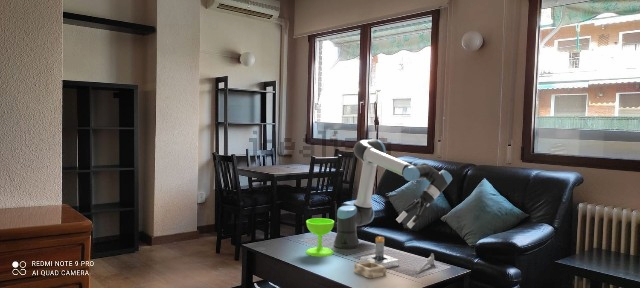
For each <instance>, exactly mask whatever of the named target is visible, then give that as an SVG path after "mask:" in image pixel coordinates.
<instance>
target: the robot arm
mask: <svg viewBox="0 0 640 288" xmlns="http://www.w3.org/2000/svg"><path fill="white" fill-rule="evenodd" d="M353 154H354V155H355V157H356V158H357V159H358V160H361V162H362V167H361V173H360V177H359V178H360V180H359V185H358V191H357V195H356V200H355V201H354V202H353V205H342V206H340V207H338V209H337V213H336V223H337V224H336V235H335V238H334V241H333V246H334V247H335V248H339V249H344V250H345V249H346V250H347V249H349V250H350V249H351V250H352V249H357V248H359V247H360V241H359V238H358V234H357V227H360V226H364V225H365V226H366V225H368V224H370V223H371V222H373V220H374V218H375V210H374V208H373V204H372V203H371V201H372V197H373V191H374V185H375V178H376V173H377V167H378V166H379V167H382V168H384V169H386V170H389V171H391V172H393V173H396V174H398V175H399V176H402V177H403V178H404V179H405V180H406V181H408V182H414V181H415V182H416V181H421V180H426V181H427V182H428V183H429V184H428V185H427V186H426V187H425V188H424V189H423V191H421V193H420V194H419V198H417V197H415V198H414V200H412V201H410V203H408V204H407V205H406V206H405V207H403V208H402V210H403V211H402V212H401V213H400V214H399V216H398V217H397V218H396V219H395V220H396V221H397V222H398V223H399V224H400V223H401V222H402V221H403V220H404V219H405V218H406V217H407V216H408V215H409V213H410V212H412V211H414V210H417V212H416V213H415V215H414V216H413V217H412V218H411V219H410V221H408V222H407V224H406V226H407V227H408V228H409V229H412V228H413V226H414V225H416V223H417V222H418V221H419V220H423V219H424V217H425V216H426V213H427V212H428V210H429V208H430V207H431V204H432V203H433V202H434V201H435V200H436V199H437V197H439V195H441V193H442V192H443V191H444V190H445V189H446V188H447V187H448V185H450V183H451V182H452V180H453V177H452V174H450V172H449V171H447V170H445V169H442V170H441V171H439V170H437V169H435V167H432V166H431V165H430V164H429V163H426V161H425V162H424V161H420V162H418V163H417V165H413V164H410V163H409V162H406V161H404V160H401V159H399V158H397V157H394V156H391V155H389V154H386V146H385V145H384V143H383V142H382V140H379V139H361V140H359V141H357V142H356V143H355V144H354V147H353Z"/></svg>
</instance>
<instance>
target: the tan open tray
mask: <svg viewBox="0 0 640 288" xmlns="http://www.w3.org/2000/svg"><path fill="white" fill-rule="evenodd" d="M353 269H354V270H353V271H354V272H353V273H357V274H358V275H361V276H363V277H366V278H367V279H374V278H379V277H383V276H387V268H386V267H385V266H382V265H380V264H377V263H375V262H372V261H366V262H361V261H360V262H356V263H354V268H353Z"/></svg>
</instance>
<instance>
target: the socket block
mask: <svg viewBox="0 0 640 288" xmlns="http://www.w3.org/2000/svg"><path fill="white" fill-rule="evenodd" d="M366 261H372V262H375V263H377V264H380V265H382V266H385V267H386V269H389V268H393V267H397V266H399V265H400V263H399V261H400V259H398V258H395V257H392V256H389V255H386V254H384V260H381V261H378V260H375V254H371V255H370V254H369V255H365V256H360V263H361V262H366Z"/></svg>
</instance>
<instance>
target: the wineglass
mask: <svg viewBox="0 0 640 288" xmlns="http://www.w3.org/2000/svg"><path fill="white" fill-rule="evenodd" d="M305 223H306V227H307V229H308V230H309V232H310V233H311V234H313V235H316V236H317V239H318V240H317V242H318V243H317V247H311V248H308V249H307V250H306V251H305V254H306V255H308V256H310V255H311V256H312V257H320V258H321V257H329V256H330V257H331V256H332V254H333V253H334V250H332V249H331V248H328V247H322V243H323V242H322V240H323V239H322V237H323V236H325V235H327V234H329V233H330V232H331V231H332V230H333V228H334V226H335V220H333V219H330V218H321V217H319V218H317V217H316V218H315V217H314V218H310V219H307V220H306V221H305ZM334 254H335V253H334ZM334 254H333V255H334Z"/></svg>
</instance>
